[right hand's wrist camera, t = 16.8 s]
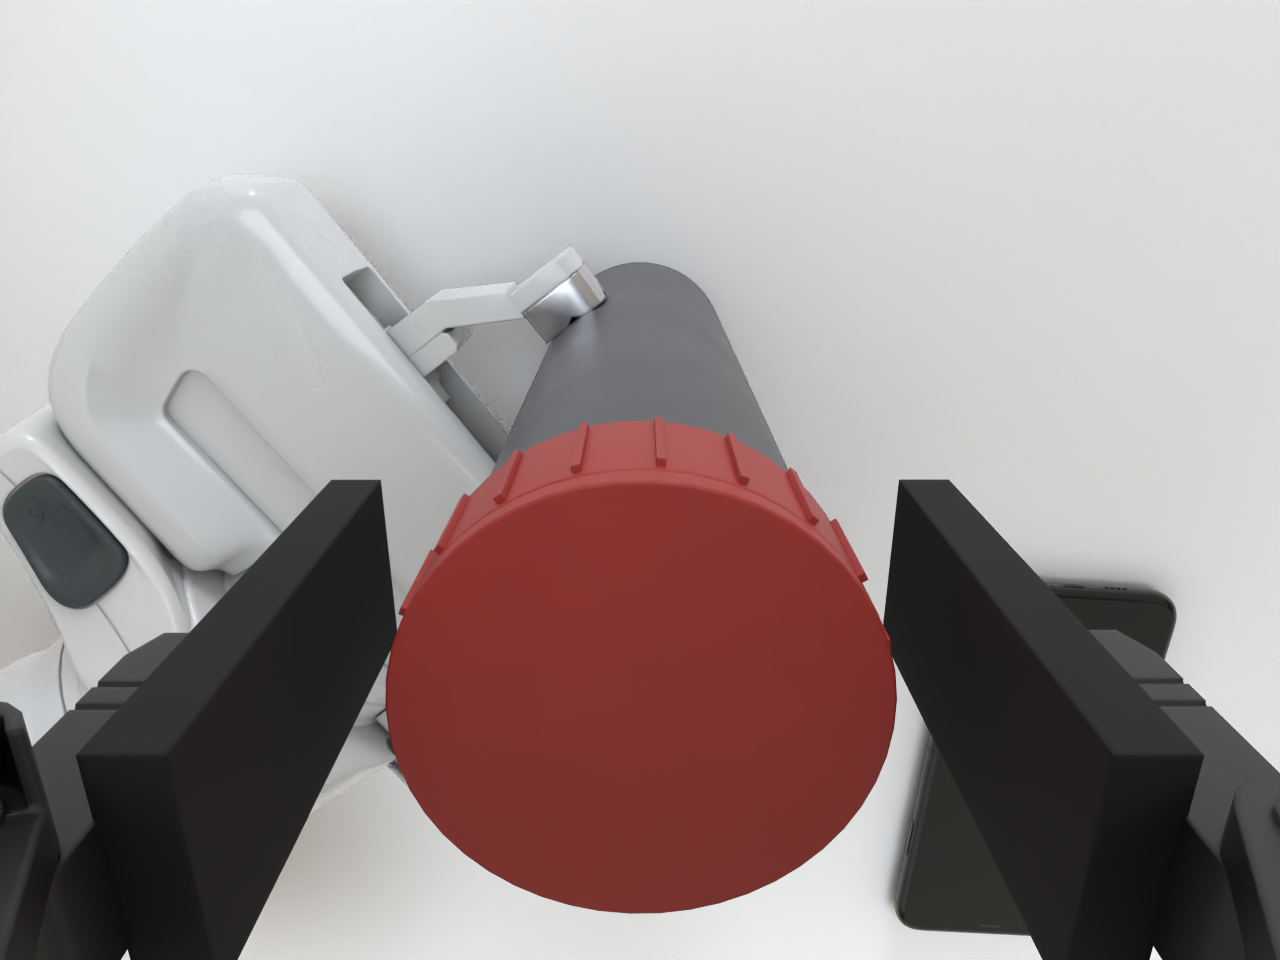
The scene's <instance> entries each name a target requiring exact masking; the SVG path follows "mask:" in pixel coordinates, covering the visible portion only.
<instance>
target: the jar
mask: <svg viewBox="0 0 1280 960" xmlns="http://www.w3.org/2000/svg"><path fill="white" fill-rule="evenodd" d="M595 277H596V278H597V280H598V281H599V283H600V284H601V285H602V287H603V288H604V290H605V291H606V294H605V299H604V300H603V301H602V302H601V303H600V304H599V305H598V306H597V307H595V308H594V309H593V310H592V311H590V312H588V313H587V314H585V315H583V316H582V317H572V320H571V322H570V324H569V326H568V327H567V328H566V329H565V330H564V331H563V332H562V333H561V334H559V335H558V336H557V337H555V338H554V339H553V340H552V341H551V343H550V345H549V348H548V350H547V352H546V354H545V356H544V359H543V361H542V363H541V365H540V367H539V370H538V372H537V374H536V376H535V378H534V381H533V383H532V385H531V387H530V389H529V392H528V394H527V396H526V398H525V400H524V403H523V405H522V407H521V409H520V411H519V413H518V416H517V418H516V420H515V422H514V424H513V427H512V429H511V431H510V433H509V435H508V438H507V440H506V442H505V444H504V446H503V449H502V451H501V453H500V455H499V457H498V460H497V462H496V464H495V466H494V468H493V471H492V473H491V474H493V473H494V472H495V471H496V470H498V469H499V468H500V467H502V466H503V465H504V464H505V463H507V462H508V461H509V459H510V456H511V454H512V452H514V451H515V450H517V449H519V450H520V451H521V452H522V453H523V452H524V451H526V450H528V449H529V448H531V447H533V446H535V445H537V444H539V443H541V442H544V441H546V440H549V439H551V438H553V437H556V436H558V435H560V434H563V433H567V432H570V431H574V430H578V429H579V424H581V423H585V422H588V425H589V426H592V425H599V424H606V423H613V422H620V421H654V417H663V422H667V423H677V424H684V425H688V426H692V427H696V428H700V429H705V430H709V431H712V432H715V433H718V434H720V435H723V436H726V435H727V433H728V432H729V433H732V434H734V435H736V438H737V441H739V442H741V443H743V444H745V445H746V446H748V447H750V448H752V449H754V450H756V451H758V452H759V453H761V454H763V455H765V456H766V457H768V458H769V459H770V460H772V461H773V462H775V463H776V464H777V465H779V466H780V467H782V468H783V469H784V470H786V471H788V468H787V466H786V464H785V462H784V459H783V457H782V455H781V453H780V451H779V449H778V446H777V444H776V442H775V440H774V438H773V436H772V433H771V431H770V429H769V427H768V425H767V423H766V420H765V418H764V416H763V414H762V412H761V410H760V407H759V405H758V403H757V401H756V399H755V397H754V394H753V392H752V390H751V388H750V386H749V384H748V381H747V379H746V377H745V375H744V373H743V371H742V368H741V366H740V364H739V362H738V360H737V358H736V355H735V353H734V351H733V349H732V347H731V345H730V342H729V340H728V338H727V336H726V334H725V332H724V329H723V327H722V325H721V323H720V321H719V318H718V316H717V314H716V312H715V310H714V308H713V306H712V304H711V302H710V301H709V299H708V298H707V296H706V295H705V294H704V292H703V291H702V290H701V289H700V288H699V287H698V286H697V285H696V284H695V283H694V282H693V281H691V280H690V279H689V278H687V277H686V276H684V275H683V274H681V273H679V272H678V271H675V270H673V269H671V268H668V267H665V266H662V265H658V264H652V263H628V264H622V265H619V266H615V267H612V268H610V269H607V270H605V271H603V272H601V273H599V274H598V275H596V276H595Z"/></svg>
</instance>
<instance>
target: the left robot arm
mask: <svg viewBox="0 0 1280 960" xmlns="http://www.w3.org/2000/svg"><path fill="white" fill-rule="evenodd" d="M583 261H584V260H583V259H582V257H581V256H580V255H579V253H578V252H577V251H576V250H575V248H574V247H573V246H570V247H569V248H567V249H565V250H564V251H562V252H561V253H560V254H558V255H557V256H556V257H555V258H553V259H552V260H551V261H549V262H548V263H547V264H545V265H544V266H543V267H542V268H540V269H539V270H538V271H536V272H535V273H534V274H532V275H531V276H530V277H529V278H527V279H526V280H525V281H523V282H522V283H521V284H519V285H517V283H516V282H507V283H498V284H488V285H479V286H470V287H460V288H451V289H442V290H441V291H439V292H438V293H436V294H435V295H434V296H432V297H431V298H430V299H428V300H427V301H425V302H424V303H423V304H421V305H420V306H419V307H418V308H416V309H415V310H414V311H412V312H410V311H409V310H408V309H407V307H406V306H405V305H404V304H403V303H402V301H401V300H400V299H399V298H398V296H397V295H396V294H395V293H394V292H393V290H392V289H391V288H390V287H389V286H388V284H387V283H386V282H385V281H384V279H383V278H382V277H381V276H380V275H379V273H378V272H377V271H376V270H375V268H374V267H373V266H372V265H371V264H370V262H369V261H368V260H367V259H366V258H365V256H364V255H363V254H362V253H361V251H360V250H359V249H358V248H357V247H356V245H355V244H354V243H353V242H352V241H351V239H350V238H349V237H348V236H347V234H346V233H345V232H344V231H343V230H342V228H341V227H340V226H339V225H338V224H337V222H336V221H335V220H334V219H333V217H332V216H331V215H330V214H329V213H328V211H327V210H326V209H325V208H324V206H323V205H322V204H321V203H320V201H319V200H318V199H317V198H316V196H315V195H314V194H313V193H312V192H311V191H310V190H309V189H308V187H307V186H305V185H304V184H303V183H301V182H299V181H297V180H295V179H291V178H283V177H275V176H267V175H248V174H246V175H232V176H225V177H222V178H218V179H214V180H211V181H209V182H207V183H205V184H203V185H201V186H199V187H198V188H196V189H195V190H193V191H192V192H190V193H189V194H188V195H186V196H185V197H184V198H183V199H182V200H181V201H179V202H178V203H177V204H176V205H175V206H174V207H172V208H171V209H170V210H169V211H168V212H167V213H166V214H165V215H164V216H163V217H162V218H161V219H160V220H159V221H158V222H157V223H156V224H155V225H154V226H153V227H152V228H151V229H150V230H149V231H148V232H147V233H146V234H145V235H144V236H143V237H142V238H141V239H140V240H139V241H138V242H137V243H136V244H135V245H134V246H133V247H132V249H131V250H130V251H129V252H128V253H127V254H126V255H125V256H124V257H123V258H122V260H121V261H120V262H119V263H118V264H117V265H116V266H115V267H114V269H113V270H112V271H111V272H110V273H109V274H108V275H107V277H106V278H105V279H104V280H103V281H102V283H101V284H100V285H99V286H98V287H97V288H96V290H95V291H94V292H93V294H92V295H91V296H90V297H89V299H88V300H87V301H86V303H85V304H84V305H83V306H82V308H81V309H80V310H79V312H78V313H77V314H76V315H75V317H74V318H73V320H72V321H71V322H70V324H69V325H68V327H67V328H66V330H65V331H64V333H63V335H62V337H61V338H60V340H59V342H58V344H57V347H56V349H55V351H54V354H53V357H52V361H51V364H50V369H49V377H48V391H49V399H50V403H49V404H47V405H46V406H44V407H42V408H41V409H39V410H37V411H35V412H34V413H32V414H30V415H29V416H27V417H25V418H24V419H22V420H21V421H19V422H18V423H16V424H15V425H14V426H12V427H11V428H9V429H8V430H6V431H5V432H4V433H2V434H1V435H0V530H1V531H2V533H3V534H4V536H5V538H6V539H7V541H8V542H9V544H10V546H11V547H12V549H13V551H14V552H15V554H16V555H17V557H18V559H19V560H20V562H21V564H22V565H23V567H24V569H25V570H26V572H27V574H28V575H29V577H30V579H31V581H32V582H33V584H34V586H35V588H36V589H37V591H38V593H39V595H40V597H41V598H42V600H43V602H44V604H45V606H46V608H47V609H48V611H49V613H50V615H51V618H52V620H53V622H54V624H55V626H56V628H57V630H58V632H59V634H60V637H59V638H58V639H57V641H56V642H55V643H54V644H52V645H51V646H50V647H48V648H47V649H44V650H41V651H38V652H35V653H32V654H30V655H27V656H25V657H22V658H20V659H18V660H17V661H15V662H13V663H11V664H9V665H8V666H6V667H4V668H2V669H0V702H8V703H9V704H11V705H12V706H14V707H15V708H17V709H18V710H20V711H21V712H22V714H23V718H24V721H25V724H26V728H27V731H28V735H29V738H30V742H31V745H32V746H33V745H34V744H35V743H36V742H37V741H38V740H39V739H40V738H41V737H42V736H43V735H44V734H45V733H46V732H47V731H48V730H49V729H50V728H51V727H52V726H53V725H54V724H56V723H57V722H58V721H59V720H60V719H61V718H62V717H63V716H64V715H65V714H66V713H67V712H68V711H69V710H74V709H75V704H76V703H77V702H78V701H79V700H80V699H81V698H82V697H83V696H84V695H85V694H86V693H87V692H88V691H89V690H90V689H91V688H92V687H97V686H98V681H99V680H100V679H101V678H102V677H103V676H104V675H105V674H106V673H107V672H108V671H109V670H110V669H111V668H112V667H113V666H114V665H115V664H116V663H117V662H118V661H119V660H120V659H121V658H122V657H123V656H124V655H126V654H128V653H130V652H131V651H133V650H135V649H137V648H138V647H140V646H142V645H144V644H145V643H147V642H149V641H151V640H153V639H154V638H156V637H158V636H160V635H161V634H163V633H189V632H190V631H191V630H192V629H193V628H194V627H195V626H196V625H197V624H198V623H199V622H200V621H201V619H202V618H203V617H204V616H205V615H206V614H207V613H208V612H209V611H210V610H211V609H212V608H213V607H214V605H215V604H216V603H217V602H218V601H219V600H220V599H221V598H222V597H223V596H224V595H225V594H226V593H227V591H228V590H229V589H230V588H231V587H232V586H233V585H234V584H235V583H236V582H237V581H238V580H239V579H240V577H241V576H242V575H243V574H244V573H245V572H246V571H247V570H248V569H249V568H250V567H251V566H252V565H253V563H254V562H255V561H256V560H257V559H258V558H259V557H260V556H261V555H262V554H263V553H264V552H265V551H266V549H267V548H268V547H269V546H270V545H271V544H272V543H273V542H274V541H275V540H276V539H277V538H278V537H279V535H280V534H281V533H282V532H283V531H284V530H285V529H286V528H287V527H288V526H289V525H290V524H291V523H292V521H293V520H294V519H295V518H296V517H297V516H298V515H299V514H300V513H301V512H302V511H303V510H304V509H305V507H306V506H307V505H308V504H309V503H310V502H311V501H312V500H313V499H314V498H315V497H316V496H317V495H318V493H319V492H320V491H321V490H322V489H323V488H324V487H325V486H326V485H327V484H328V483H329V482H330V481H331V480H381V486H382V495H383V504H384V513H385V522H386V531H387V541H388V550H389V559H390V568H391V577H392V586H393V595H394V605H395V614H396V623H397V630H398V627H399V624H400V622H401V620H402V618H403V616H401V615H399V614H398V613H399V610H400V607H401V605H402V603H403V601H404V600H405V598H406V596H407V594H408V592H409V590H410V588H411V586H412V584H413V582H414V580H415V578H416V576H417V575H418V573H419V571H420V569H421V567H422V565H423V563H424V561H425V559H426V557H427V555H428V553H429V551H430V550H434V548H435V546H436V544H437V543H438V541H439V539H440V537H441V535H442V533H443V531H444V529H445V527H446V525H447V523H448V521H449V519H450V517H451V515H452V513H453V511H454V509H455V507H456V505H457V503H458V501H459V500H460V498H461V497H462V496H463V494H464V493H465V494H467V495H468V496H470V495H471V494H472V493H473V492H474V491H475V490H476V489H477V488H478V487H479V486H480V485H481V484H482V483H483V482H484V481H485V480H486V479H487V478H488V477H489V476H490V475H491V473H492V471H493V468H494V466H495V464H496V462H497V460H498V457H499V455H500V453H501V451H502V449H503V446H504V444H505V442H506V440H507V438H508V435H509V432H508V430H507V429H506V428H505V427H504V426H503V424H502V423H501V422H500V421H499V419H498V418H497V417H496V416H495V415H494V413H493V412H492V411H491V410H490V409H489V407H488V406H487V405H486V404H485V402H484V401H483V400H482V399H481V398H480V396H479V395H478V394H477V393H476V391H475V390H474V389H473V388H472V387H471V385H470V384H469V383H468V382H467V381H466V379H465V378H464V377H463V376H462V374H461V373H460V372H459V371H458V370H457V368H456V367H455V366H454V365H453V363H452V362H451V361H450V360H449V359H448V358H449V357H451V356H452V355H453V354H454V353H456V352H457V351H458V350H459V349H460V348H461V346H462V345H463V344H464V343H465V342H466V341H467V340H468V338H469V337H470V336H471V335H472V330H473V329H472V328H471V326H470V325H477V324H485V323H493V322H501V321H509V320H517V319H524V318H525V317H526V318H527V320H528V321H529V322H530V323H531V324H532V326H533V327H534V328H535V329H536V331H537V332H538V333H539V334H540V336H541V337H542V338H543V339H544V340H545V342H546V343H549V342H550V341H551V340H553V339H554V338H555V337H557V336H558V335H559V334H561V333H562V332H563V331H564V330H565V329H566V328H567V327H568V326H569V324H570V322H571V320H572V317H582V316H583V315H585V314H587V313H588V312H590V311H592V310H593V309H594V308H595V307H597V306H598V305H599V304H600V303H601V302H602V301H603V300H604V299H605V294H606V291H605V290H604V288H603V287H602V285H601V284H600V283H599V281H598V280H597V278H596V277H595V276H594V274H593V273H592V271H591V270H590V269H589V267H588V266H587V264H586V263H585V262H583ZM390 652H391V651H390ZM389 657H390V653H389V655H388V657H387V659H386V661H385V663H384V665H383V667H382V669H381V671H380V673H379V675H378V677H377V679H376V681H375V683H374V685H373V687H372V689H371V691H370V693H369V695H368V697H367V699H366V701H365V703H364V705H363V707H362V709H361V711H360V713H359V715H358V717H357V719H356V721H355V723H354V725H353V728H352V730H351V732H350V734H349V736H348V738H347V740H346V742H345V744H344V746H343V748H342V750H341V752H340V754H339V756H338V758H337V760H336V762H335V764H334V766H333V768H332V770H331V772H330V774H329V776H328V778H327V780H326V782H325V784H324V786H323V788H322V790H321V792H320V794H319V796H318V798H317V800H316V802H315V804H314V806H313V808H312V810H311V812H310V814H312V813H314V812H315V811H317V810H318V809H320V808H321V807H323V806H324V805H326V804H327V803H329V802H330V801H332V800H334V799H335V798H337V797H338V796H339V795H341V794H342V793H344V792H345V791H347V790H349V789H350V788H352V787H353V786H355V785H356V784H358V783H359V782H361V781H362V780H364V779H366V778H367V777H369V776H370V775H372V774H373V773H375V772H376V771H378V770H379V769H381V768H383V767H384V766H387V767H388V768H389V769H390V770H391V771H392V772H393V773H394V774H395V775H396V776H397V777H398V778H399V779H400V780H401V781H402V782H403V783H404V784H405V785H406V786H407V787H408V785H407V783H406V781H405V778H404V776H403V774H402V772H401V770H400V768H399V765H398V763H397V760H396V756H395V753H394V750H393V746H392V743H391V740H390V736H389V730H388V723H387V715H386V708H385V698H386V675H387V669H388V663H389ZM408 788H409V787H408ZM310 814H309V815H310Z"/></svg>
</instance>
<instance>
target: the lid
mask: <svg viewBox="0 0 1280 960" xmlns="http://www.w3.org/2000/svg"><path fill="white" fill-rule="evenodd" d="M866 580H868V578H867V576H866V574H865V572H864V570H863V568H862V566H861V564H860V563H859V561H858V559H857V557H856V555H855V553H854V551H853V549H852V547H851V546H850V544H849V542H848V540H847V538H846V536H845V534H844V532H843V530H842V529H841V527H840V525H839V523H838V521H837V520H836V519H834V520H832V521H829V519H828V517H827V516H826V514H825V512H824V511H823V510H822V509H821V507H820V506H819V505H818V503H817V502H816V501H815V500H814V498H813V497H812V496H811V494H810V493H809V492H808V491H807V490H806V489H805V488H804V487H803V485H802V483H801V481H800V479H799V477H798V475H797V473H796V472H795V471H794V470H793V469H792V468H790V469H789V470H788V471H786V470H784V469H783V468H782V467H780V466H779V465H777V464H776V463H775V462H773V461H772V460H770V459H769V458H768V457H766V456H765V455H763V454H761V453H759V452H758V451H756V450H754V449H752V448H750V447H748V446H746V445H745V444H743V443H741V442H739V441H737V438H736V435H734V434H732V433H729V432H728V433H727V435H726V436H723V435H720V434H718V433H715V432H712V431H709V430H705V429H700V428H696V427H692V426H688V425H684V424H677V423H667V422H663V417H654V421H620V422H613V423H606V424H599V425H592V426H589V425H588V422H585V423H581V424H579V429H578V430H574V431H570V432H567V433H563V434H560V435H558V436H556V437H553V438H551V439H549V440H546V441H544V442H541V443H539V444H537V445H535V446H533V447H531V448H529V449H528V450H526V451H524V452H523V453H522V452H521V451H520V450H519V449H517V450H515V451H514V452H512V454H511V456H510V459H509V461H508V462H507V463H505V464H504V465H503V466H502V467H500V468H499V469H498V470H496V471H495V472H494V473H493V474H491V475H490V476H489V477H488V478H487V479H486V480H485V481H484V482H483V483H482V484H481V485H480V486H479V487H478V488H477V489H476V490H475V491H474V492H473V493H472V494H471V495H470V496H468V495H467V494H465V493H464V494H463V496H462V497H461V498H460V500H459V501H458V503H457V505H456V507H455V509H454V511H453V513H452V515H451V517H450V519H449V521H448V523H447V525H446V527H445V529H444V531H443V533H442V535H441V537H440V539H439V541H438V543H437V544H436V546H435V548H434V550H430V551H429V553H428V555H427V557H426V559H425V561H424V563H423V565H422V567H421V569H420V571H419V573H418V575H417V576H416V578H415V580H414V582H413V584H412V586H411V588H410V590H409V592H408V594H407V596H406V598H405V600H404V601H403V603H402V605H401V607H400V610H399V613H398V614H399V615H401V616H403V618H402V620H401V622H400V624H399V627H398V630H397V633H396V636H395V639H394V642H393V645H392V648H391V652H390V657H389V663H388V669H387V675H386V698H385V708H386V715H387V723H388V730H389V736H390V740H391V743H392V746H393V750H394V753H395V756H396V760H397V763H398V765H399V768H400V770H401V772H402V774H403V776H404V778H405V781H406V783H407V785H408V787H409V789H410V791H411V792H412V794H413V795H414V797H415V798H416V800H417V802H418V803H419V805H420V806H421V808H422V809H423V811H424V812H425V814H426V815H427V816H428V817H429V818H430V820H431V821H432V822H433V823H434V824H435V825H436V827H437V828H438V829H439V830H440V831H441V832H442V834H443V835H444V836H445V837H446V838H448V839H449V840H450V841H451V842H452V843H453V844H454V845H455V846H456V847H457V848H459V849H460V850H461V851H462V852H463V853H464V854H465V855H467V856H468V857H469V858H471V859H472V860H474V861H475V862H476V863H478V864H479V865H481V866H482V867H483V868H485V869H486V870H488V871H489V872H491V873H493V874H495V875H497V876H498V877H500V878H502V879H504V880H506V881H507V882H509V883H511V884H513V885H515V886H517V887H520V888H522V889H524V890H527V891H529V892H532V893H534V894H536V895H539V896H541V897H544V898H548V899H551V900H554V901H558V902H561V903H564V904H568V905H572V906H577V907H582V908H587V909H593V910H598V911H607V912H619V913H665V912H674V911H682V910H691V909H695V908H700V907H704V906H709V905H713V904H718V903H721V902H724V901H728V900H731V899H734V898H737V897H740V896H743V895H746V894H748V893H751V892H753V891H755V890H757V889H759V888H762V887H764V886H766V885H768V884H771V883H773V882H775V881H777V880H778V879H780V878H782V877H783V876H785V875H787V874H788V873H790V872H792V871H793V870H795V869H797V868H798V867H800V866H801V865H803V864H804V863H805V862H807V861H808V860H809V859H811V858H812V857H813V856H815V855H816V854H817V853H818V852H820V851H821V850H822V849H824V848H825V847H826V846H827V845H828V844H829V843H830V842H831V841H832V840H833V839H834V838H835V837H836V836H837V835H838V834H839V833H840V832H841V831H842V830H843V829H844V828H845V827H846V825H847V824H848V823H849V822H850V820H851V819H852V818H853V817H854V815H855V814H856V813H857V812H858V810H859V809H860V808H861V806H862V805H863V803H864V801H865V800H866V798H867V796H868V795H869V793H870V791H871V790H872V788H873V786H874V785H875V783H876V781H877V778H878V776H879V774H880V771H881V769H882V767H883V764H884V762H885V759H886V757H887V753H888V749H889V746H890V742H891V738H892V734H893V730H894V723H895V713H896V703H897V694H896V676H895V668H894V663H893V658H892V654H891V649H890V647H891V641H890V638H889V636H888V634H887V632H886V630H885V628H884V626H883V624H882V622H881V620H880V618H879V615H878V613H877V611H876V609H875V607H874V605H873V603H872V601H871V599H870V597H869V595H868V593H867V591H866V589H865V587H864V586H863V584H862V583H863V582H865V581H866Z"/></svg>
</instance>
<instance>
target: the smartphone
mask: <svg viewBox="0 0 1280 960" xmlns="http://www.w3.org/2000/svg"><path fill="white" fill-rule="evenodd" d="M1045 584H1046V585H1047V586H1048V587H1049V588H1050V589H1051V590H1052V591H1053V593H1054V594H1055V595H1056V596H1057V597H1058V598H1059V599H1060V600H1061V601H1062V602H1063V603H1064V604H1065V605H1066V607H1067V608H1068V609H1069V610H1070V611H1071V612H1072V613H1073V614H1074V615H1075V616H1076V617H1077V618H1078V619H1079V621H1080V622H1081V623H1082V624H1083V625H1084V626H1085V627H1086V628H1087V629H1088V630H1117V631H1119V632H1121V633H1123V634H1125V635H1126V636H1128V637H1130V638H1132V639H1133V640H1135V641H1137V642H1139V643H1141V644H1142V645H1144V646H1146V647H1148V648H1149V649H1151V650H1153V651H1155V652H1156V653H1157V654H1158V655H1159V656H1160V657H1161V658H1162V659H1163V660H1165V657H1166V653H1167V650H1168V647H1169V644H1170V640H1171V637H1172V634H1173V631H1174V627H1175V623H1176V608H1175V605H1174V603H1173V602H1172V600H1171V599H1170V598H1169V597H1167V596H1166V595H1165V594H1163V593H1161V592H1158V591H1155V590H1150V589H1138V588H1123V587H1107V586H1090V585H1074V584H1057V583H1045ZM895 911H896V915H897V917H898V919H899V920H900V921H901V922H902V923H903V924H904V925H905V926H907V927H909V928H912V929H916V930H925V931H945V932H964V933H984V934H1005V935H1025V936H1031V935H1030V933H1029V931H1028V929H1027V927H1026V925H1025V923H1024V921H1023V919H1022V917H1021V915H1020V913H1019V911H1018V909H1017V907H1016V905H1015V903H1014V901H1013V899H1012V897H1011V895H1010V893H1009V891H1008V889H1007V887H1006V885H1005V883H1004V881H1003V879H1002V877H1001V875H1000V873H999V871H998V869H997V867H996V865H995V863H994V861H993V859H992V857H991V855H990V853H989V851H988V849H987V847H986V845H985V843H984V841H983V839H982V837H981V834H980V832H979V830H978V828H977V826H976V824H975V822H974V820H973V818H972V816H971V814H970V812H969V810H968V808H967V806H966V804H965V802H964V800H963V798H962V796H961V794H960V792H959V790H958V788H957V786H956V784H955V782H954V780H953V778H952V776H951V774H950V772H949V770H948V768H947V766H946V764H945V762H944V760H943V758H942V756H941V754H940V752H939V750H938V748H937V746H936V744H935V742H934V740H933V738H932V736H931V734H930V738H929V742H928V747H927V752H926V756H925V761H924V766H923V771H922V775H921V780H920V785H919V789H918V794H917V799H916V803H915V808H914V813H913V818H912V821H911V824H910V829H909V834H908V839H907V843H906V848H905V855H904V860H903V865H902V869H901V874H900V879H899V883H898V888H897V893H896V898H895Z"/></svg>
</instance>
